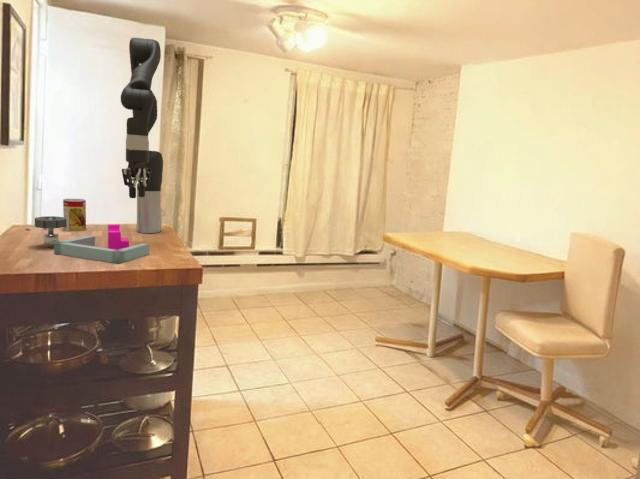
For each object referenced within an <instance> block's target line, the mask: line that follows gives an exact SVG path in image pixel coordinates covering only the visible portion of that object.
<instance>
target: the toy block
mask: <svg viewBox="0 0 640 479" xmlns="http://www.w3.org/2000/svg"><path fill="white" fill-rule="evenodd" d="M120 228H121V227H120V224H113V223H112V224H109V223H108V224H107V248H108V249H115V250H119V249H123V248H127V247H130V240H129V238H128V237H122V232H121V230H120Z"/></svg>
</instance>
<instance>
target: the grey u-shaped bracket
mask: <svg viewBox="0 0 640 479" xmlns="http://www.w3.org/2000/svg"><path fill="white" fill-rule="evenodd" d="M53 250H54V251H53V253H54V255H55V254H56V255H62V256H68V257H73V258H74V257H75V258H82V259H87V260H94V261H99V262H100V261H101V262H106V263H107V262H108V263H112V264H122V263H125V262H128V261H129V262H130V261H132V260H135V259H139V258H141V257H142V258H143V257H145V256H148V255H150V244H149V243H143V242H141V243H139V244H135V245H129V247H127V248H123V249H119V250H115V249H108V247H101V246H96V237H95V235H85V236H80V237H75V238H70V239H66V240H61V241H60V240H59V242H55V243H54V248H53Z"/></svg>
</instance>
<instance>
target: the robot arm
mask: <svg viewBox="0 0 640 479" xmlns="http://www.w3.org/2000/svg"><path fill="white" fill-rule="evenodd" d="M129 40H130V41H129V45H128V46H129V48H128V50H129V52H128V53H129V61H130V72H131V76H130V79H129V80H130V81H129V82H128V84H126V86H125V87H124V88H123V89H122V90H121V93H120V102H121V106H122V107H123V108H125V109H126V110H130V111H131V110H132V117H129V118H127V119H126V137H125V162H127V164H128V165H127V168H121V174H122V179H123V184H124V186H127V187H128V196H129V199H136V232H137V233H143V234H156V233H160V232H161V231H162V208H161V207H162V206H161V202H162V201H161V200H162V199H161V197H162V196H161V195H162V194H161V193H162V192H161V189H162V184H163V173H164V172H163V171H164V158H163V157H164V156H163V155H162V153H161V152H159V151H156V150H150V142H149V134H150V133H151V130H152V129H153V128H154V126H155V124H156V122H157V119H158V100H157V97H156V96H155V93H154V92H153V91H152V89H151V88H152V83H153V77H154V76H155V73H156V71H157V69H158V67H159V64H160V63H161V62H160V61H161V56H162V54H161V52H162V51H161V46H160V42H159V41H158V40H156V39H151V38H144V37H143V38H141V37H131V38H130V39H129Z"/></svg>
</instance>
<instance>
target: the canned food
mask: <svg viewBox="0 0 640 479" xmlns="http://www.w3.org/2000/svg"><path fill="white" fill-rule="evenodd" d="M62 204H63V205H62V206H63V214H62V215H63V217H65V218H66V227H63V230H64V231H66V232H83V230H84V231H86V230H87V224H86V223H87V212H86V211H87V210H86V209H87V204H86V199H85V198H83V199H82V198H64V199H63V200H62Z"/></svg>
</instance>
